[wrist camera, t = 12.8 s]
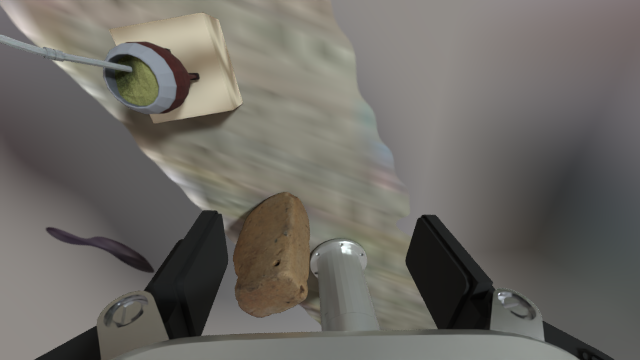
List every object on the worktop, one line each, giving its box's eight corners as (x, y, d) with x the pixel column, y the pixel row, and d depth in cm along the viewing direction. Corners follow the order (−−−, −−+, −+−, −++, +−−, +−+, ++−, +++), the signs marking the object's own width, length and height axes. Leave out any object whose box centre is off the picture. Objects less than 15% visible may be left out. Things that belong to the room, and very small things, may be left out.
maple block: (243, 102, 37) (233, 109, 32) (175, 114, 38) (153, 123, 32) (219, 20, 32) (202, 12, 27) (140, 34, 33) (108, 29, 27)
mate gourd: (209, 104, 32) (135, 136, 18) (148, 107, 31) (28, 140, 18) (194, 39, 28) (90, 18, 15) (126, 41, 28) (-41, 22, 15)
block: (296, 184, 44) (291, 269, 26) (311, 215, 48) (316, 308, 30) (244, 205, 45) (206, 298, 28) (263, 233, 49) (239, 333, 31)
